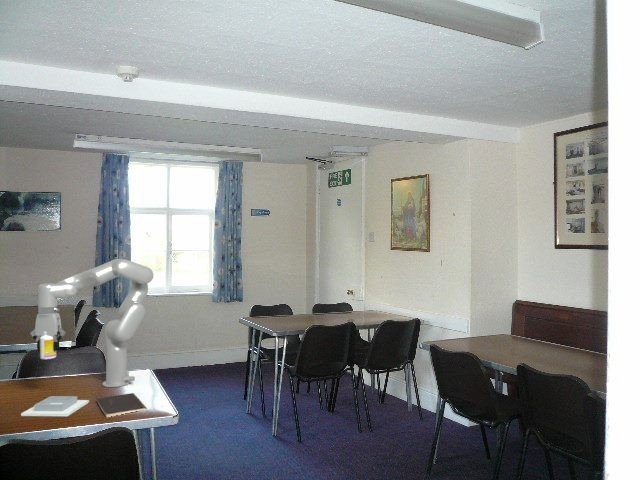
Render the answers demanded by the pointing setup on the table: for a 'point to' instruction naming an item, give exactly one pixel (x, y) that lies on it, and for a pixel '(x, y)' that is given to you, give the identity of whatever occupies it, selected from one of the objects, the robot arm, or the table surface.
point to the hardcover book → (120, 404)
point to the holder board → (56, 406)
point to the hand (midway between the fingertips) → (48, 349)
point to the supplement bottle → (47, 347)
